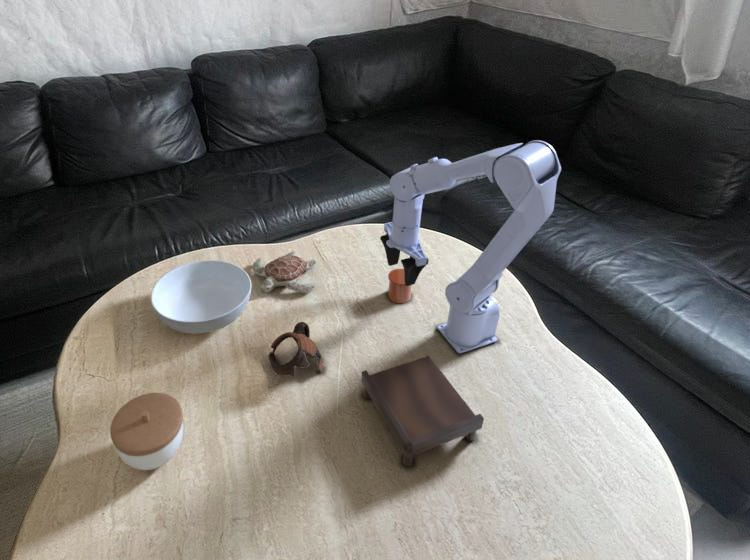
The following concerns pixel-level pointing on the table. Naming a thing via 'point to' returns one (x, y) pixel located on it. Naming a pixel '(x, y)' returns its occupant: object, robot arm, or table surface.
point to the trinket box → (148, 430)
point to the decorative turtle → (285, 273)
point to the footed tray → (420, 406)
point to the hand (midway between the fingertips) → (401, 273)
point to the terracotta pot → (398, 287)
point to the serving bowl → (201, 296)
